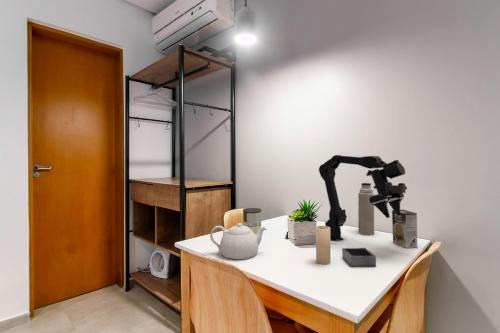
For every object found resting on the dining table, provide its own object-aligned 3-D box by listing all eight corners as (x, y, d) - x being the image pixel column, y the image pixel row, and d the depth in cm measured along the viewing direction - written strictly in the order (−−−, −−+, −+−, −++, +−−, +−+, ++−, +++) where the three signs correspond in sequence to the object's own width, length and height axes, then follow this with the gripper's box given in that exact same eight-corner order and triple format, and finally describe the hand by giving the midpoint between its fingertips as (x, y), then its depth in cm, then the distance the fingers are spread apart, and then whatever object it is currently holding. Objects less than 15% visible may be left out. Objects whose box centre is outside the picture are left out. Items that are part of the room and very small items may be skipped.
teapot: (240, 244, 131) (239, 216, 131) (267, 253, 118) (267, 222, 118) (209, 254, 118) (208, 223, 118) (236, 265, 105) (236, 231, 105)
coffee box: (392, 242, 130) (391, 210, 130) (404, 241, 131) (403, 209, 130) (405, 248, 121) (404, 213, 121) (418, 247, 122) (417, 212, 121)
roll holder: (342, 257, 111) (342, 248, 111) (365, 257, 111) (365, 248, 111) (350, 267, 101) (350, 256, 101) (375, 266, 101) (375, 256, 101)
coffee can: (239, 235, 146) (239, 210, 146) (250, 231, 154) (249, 207, 154) (254, 238, 140) (254, 212, 140) (265, 233, 148) (264, 208, 148)
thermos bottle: (358, 231, 151) (357, 182, 151) (373, 232, 149) (373, 182, 148) (358, 234, 144) (358, 183, 143) (375, 236, 141) (374, 183, 140)
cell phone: (285, 240, 138) (285, 238, 138) (287, 232, 151) (287, 231, 151) (299, 240, 136) (299, 239, 136) (300, 233, 150) (300, 232, 150)
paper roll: (313, 260, 109) (313, 226, 108) (325, 258, 111) (325, 224, 110) (321, 265, 103) (320, 229, 103) (333, 263, 105) (333, 228, 105)
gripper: (387, 176, 107) (401, 214, 102) (408, 175, 117) (423, 210, 113) (363, 185, 115) (375, 220, 110) (385, 183, 126) (397, 215, 121)
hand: (394, 216), depth 113 cm, fingers open, 9 cm apart
